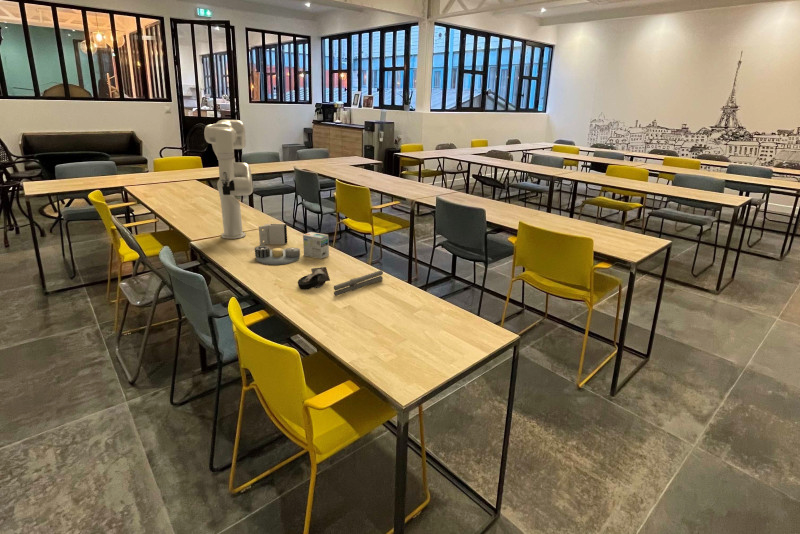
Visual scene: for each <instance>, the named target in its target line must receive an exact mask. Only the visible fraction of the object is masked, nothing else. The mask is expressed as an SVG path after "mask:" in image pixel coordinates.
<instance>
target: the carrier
mask: <svg viewBox="0 0 800 534" xmlns="http://www.w3.org/2000/svg"><path fill="white" fill-rule="evenodd" d="M261 249H264V248H261ZM300 256H301V249H300V248H298V247H287V248H284V249H283V248H282V247H281V248H280V247H275V248H272V249H270V256H269V257H267V258H264V257H263V258H257V257H255V260H256V261H257V262H258V263H259V262H260V263H259V264H262V263H263V264H262V265H267V264H268V265H269V266H279V265H282V264H283V265H288V264H292V263H295V262H296V261H298V260H299V259H300Z"/></svg>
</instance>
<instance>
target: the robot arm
mask: <svg viewBox="0 0 800 534" xmlns="http://www.w3.org/2000/svg"><path fill="white" fill-rule="evenodd" d="M203 134H204V140H205V141H206V143H208V144H211V146H212V151H213V152H214V154H215V156H216V158H217V159H216V160H218V172H219V173H218V174H219V176H218V177H219V179H218V180H217V182H216V183H217V185H216V186H217V191H218V194H219V200H220V206H221V207H220V208H221V216H222V217H221V218H222V226H223V232H222V233H221V234H220V237H221V238H223V239H226V240H236V239H241V238H244V237H246V234H247V233H246V232H245V231H243V223H242V222H243V221H242V209H241V203H240V202H239V200H238V199H237V198H236V196H238V197H240V196H250V195H251V194H253V192H254V185H253V184H254V183H253V177H252V171H251V166H250V165H249V164H248V163H247V162H238V161H237V162H236V158H235V150H242V149H245V147H246V144H247V143H246V142H247V141H246V139H247V138H246V129H245V124H244V123H243V121H241V120H239V119H221V120H218V121H217V122H216V123H213V124H211V123H210V124H207V125H206V126H205V128H204V132H203Z"/></svg>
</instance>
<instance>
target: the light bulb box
mask: <svg viewBox="0 0 800 534" xmlns="http://www.w3.org/2000/svg"><path fill="white" fill-rule="evenodd" d="M302 240H303V241H302V242H303V244H302V245H303V256H306V257H310V258H315V259H320V260H322V259H324V258H327V257H328V256H330V253H329V252H330V251H329V250H330V249H329V248H330V247H329V246H330V244H329V234H324V233H318V232H313V231H310V232H309V231H308V232H307V233H304V234H303V235H302Z"/></svg>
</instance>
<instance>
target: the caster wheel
mask: <svg viewBox="0 0 800 534" xmlns="http://www.w3.org/2000/svg"><path fill="white" fill-rule="evenodd" d="M330 281H331V278H330V275H329V273H328V270H327V267H326V266H322V267H315V268H311V273H308V274H307V275H304V276H302V277H300V278H299V279H298V281H297V285H298V288H299V289H300V290H302V291H306V290H307V291H308V290H311V289H319V288H320V289H321V288H322V287H323V286H324V285H326V282H330Z"/></svg>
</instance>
